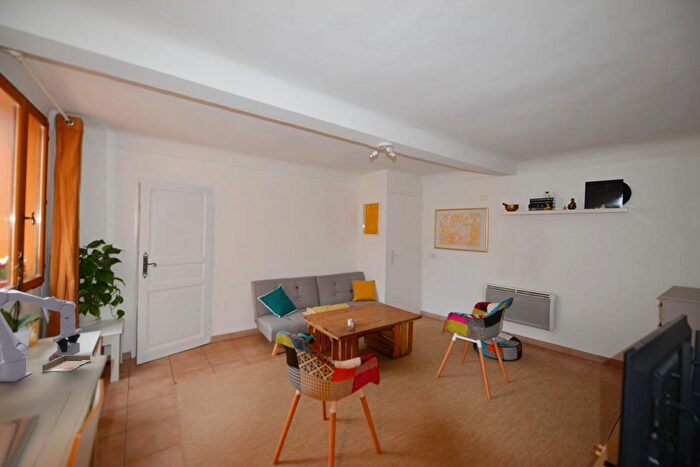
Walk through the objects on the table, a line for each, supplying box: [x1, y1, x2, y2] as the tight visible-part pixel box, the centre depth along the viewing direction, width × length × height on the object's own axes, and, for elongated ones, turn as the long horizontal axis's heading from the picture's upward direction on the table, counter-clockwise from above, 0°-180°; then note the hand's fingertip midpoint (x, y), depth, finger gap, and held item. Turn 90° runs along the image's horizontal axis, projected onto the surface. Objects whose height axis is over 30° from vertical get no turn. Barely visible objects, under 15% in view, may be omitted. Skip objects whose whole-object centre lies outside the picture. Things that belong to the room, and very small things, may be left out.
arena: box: [41, 354, 91, 373], centre depth 158 cm, size 14×12×4 cm
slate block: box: [56, 342, 81, 356], centre depth 156 cm, size 4×8×5 cm, turn 91°
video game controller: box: [48, 350, 63, 362], centre depth 168 cm, size 10×5×7 cm, turn 169°
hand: (68, 350), depth 156 cm, fingers closed on slate block, 4 cm apart
